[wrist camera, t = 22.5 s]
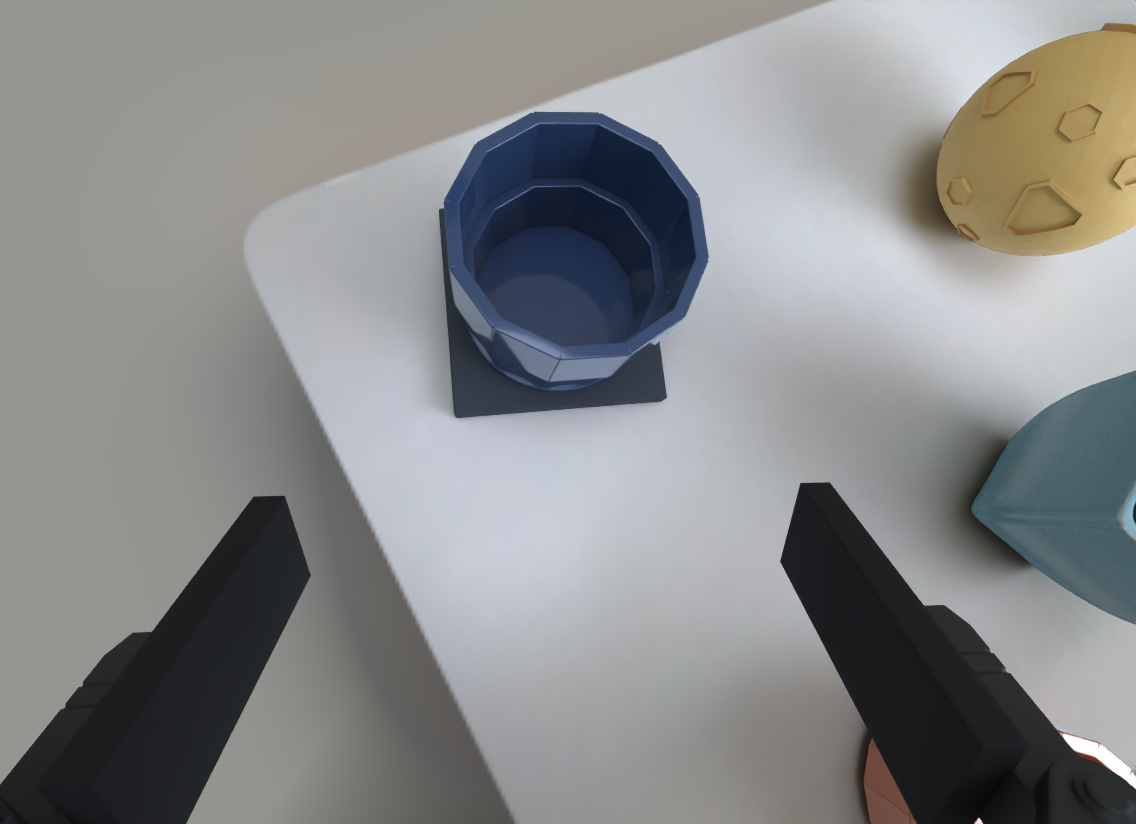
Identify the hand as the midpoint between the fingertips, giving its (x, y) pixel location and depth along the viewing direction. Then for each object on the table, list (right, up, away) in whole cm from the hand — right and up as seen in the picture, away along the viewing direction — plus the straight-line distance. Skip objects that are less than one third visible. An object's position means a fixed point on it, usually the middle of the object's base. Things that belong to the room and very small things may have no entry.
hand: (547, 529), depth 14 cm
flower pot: (+25, -2, +15) cm, 29 cm away
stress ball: (+24, +15, +17) cm, 33 cm away
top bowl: (0, +8, +12) cm, 14 cm away
